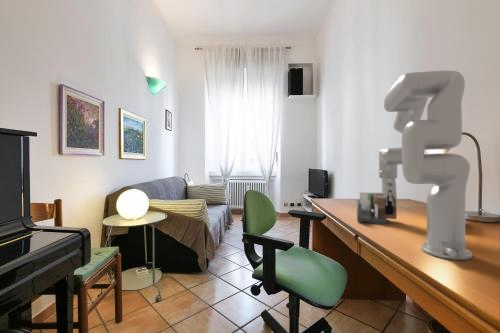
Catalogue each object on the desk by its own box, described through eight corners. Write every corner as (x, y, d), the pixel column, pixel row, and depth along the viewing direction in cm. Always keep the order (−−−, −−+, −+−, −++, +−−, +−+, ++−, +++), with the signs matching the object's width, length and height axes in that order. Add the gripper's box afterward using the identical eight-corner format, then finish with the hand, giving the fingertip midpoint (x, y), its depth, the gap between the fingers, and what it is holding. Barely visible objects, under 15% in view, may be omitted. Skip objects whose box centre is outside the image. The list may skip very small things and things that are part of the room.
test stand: (386, 224, 113) (386, 196, 112) (358, 222, 117) (357, 195, 116) (382, 218, 124) (382, 192, 123) (356, 217, 128) (356, 192, 128)
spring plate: (377, 218, 115) (377, 206, 115) (371, 218, 116) (371, 205, 116) (375, 214, 123) (375, 203, 123) (369, 214, 124) (369, 202, 124)
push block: (396, 219, 115) (396, 197, 114) (377, 217, 117) (377, 197, 117) (394, 217, 118) (394, 196, 118) (376, 216, 121) (376, 195, 121)
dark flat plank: (373, 216, 122) (373, 196, 122) (371, 216, 122) (371, 196, 122) (373, 215, 124) (372, 196, 123) (371, 215, 124) (371, 195, 124)
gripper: (401, 176, 108) (401, 217, 108) (393, 173, 123) (394, 210, 124) (381, 176, 111) (382, 216, 111) (377, 174, 126) (377, 209, 127)
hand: (388, 212), depth 117 cm, fingers closed on push block, 4 cm apart
